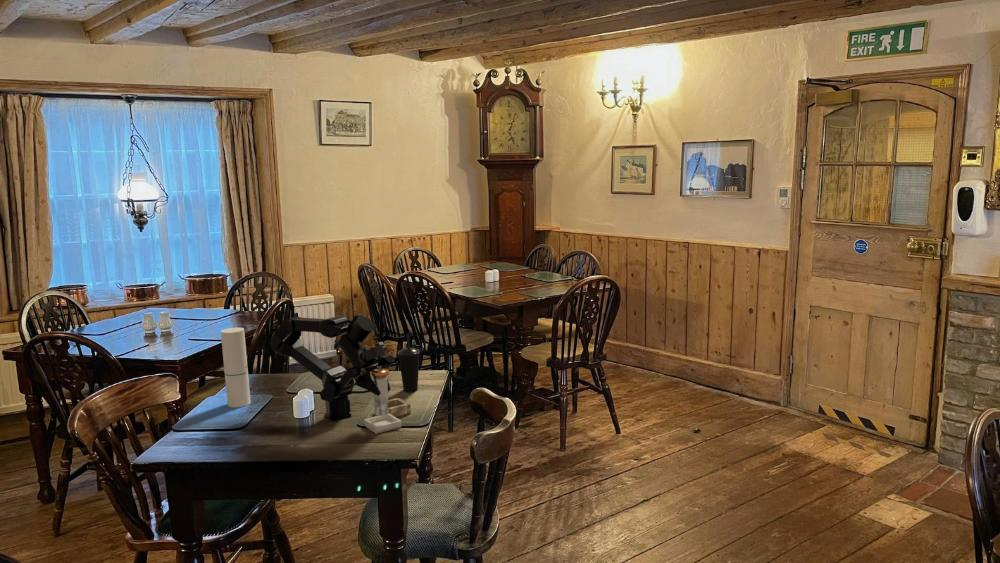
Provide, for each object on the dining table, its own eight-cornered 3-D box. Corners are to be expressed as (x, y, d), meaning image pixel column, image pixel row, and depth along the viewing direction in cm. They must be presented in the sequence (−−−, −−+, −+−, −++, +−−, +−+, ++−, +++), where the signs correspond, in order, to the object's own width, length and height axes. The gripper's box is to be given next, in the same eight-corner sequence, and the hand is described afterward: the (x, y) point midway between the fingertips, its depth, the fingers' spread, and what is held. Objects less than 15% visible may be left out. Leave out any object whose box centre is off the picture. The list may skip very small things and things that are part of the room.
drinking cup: (420, 393, 241) (417, 336, 237) (397, 393, 241) (395, 336, 237) (423, 386, 248) (420, 330, 245) (401, 386, 248) (398, 330, 245)
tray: (376, 433, 206) (376, 427, 205) (364, 425, 212) (363, 419, 212) (401, 427, 210) (401, 420, 210) (389, 419, 217) (388, 413, 217)
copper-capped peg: (371, 416, 208) (369, 373, 206) (375, 410, 213) (373, 368, 211) (388, 416, 208) (386, 373, 206) (391, 410, 213) (390, 368, 211)
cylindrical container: (254, 400, 238) (247, 327, 233) (244, 407, 231) (237, 332, 226) (233, 400, 238) (227, 327, 234) (223, 407, 231) (216, 332, 227)
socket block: (388, 419, 217) (387, 409, 217) (376, 412, 224) (376, 403, 223) (410, 413, 222) (410, 404, 221) (399, 406, 228) (398, 397, 227)
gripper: (345, 342, 201) (377, 386, 197) (389, 328, 216) (418, 368, 213) (327, 365, 206) (357, 408, 202) (370, 350, 222) (399, 389, 218)
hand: (384, 392), depth 209 cm, fingers closed on copper-capped peg, 4 cm apart
